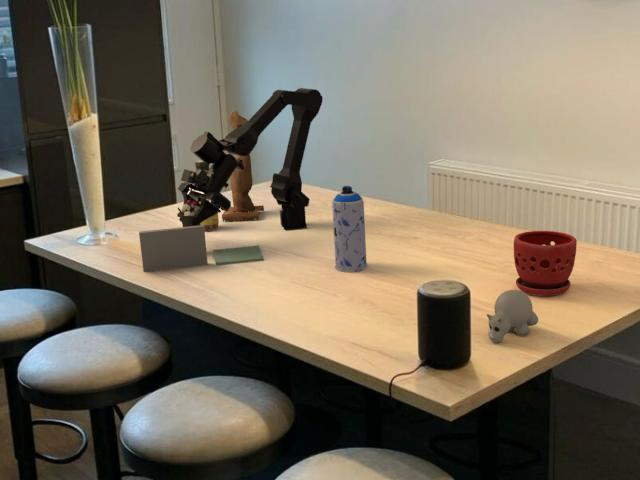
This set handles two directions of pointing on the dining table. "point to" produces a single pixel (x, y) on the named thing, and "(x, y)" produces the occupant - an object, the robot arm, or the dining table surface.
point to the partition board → (173, 248)
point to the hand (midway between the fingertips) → (186, 223)
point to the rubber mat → (237, 255)
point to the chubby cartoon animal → (511, 315)
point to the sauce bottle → (213, 220)
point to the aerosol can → (349, 231)
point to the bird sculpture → (241, 184)
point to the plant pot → (544, 262)
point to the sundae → (188, 213)
